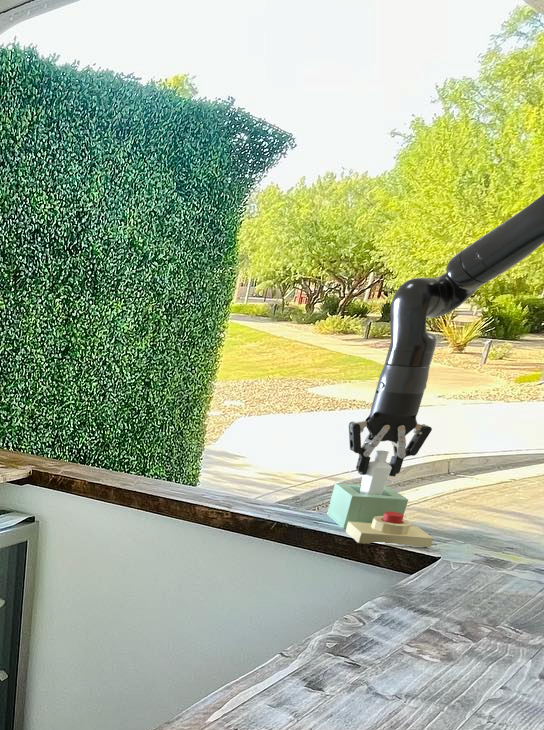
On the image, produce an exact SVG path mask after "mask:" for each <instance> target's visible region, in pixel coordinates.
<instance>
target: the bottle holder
mask: <svg viewBox="0 0 544 730" xmlns="http://www.w3.org/2000/svg"><path fill="white" fill-rule="evenodd" d="M360 488H361V483H360V484H357V483H343V482H342V483H341V482H335V483H334V486H333V491H332V493H331V497H330V502H329V505H328V509H327V513H326V515H327V516H328V517H329V518H330V519H331V520H332V521H334V522H335V523H336V524H337V525H338V526H339V527H340V528H341V529H343V530H346V528H347V525H348V522H363V523H372V521H373V518H374V517H376V516H384V514H385V512H397V513H401V514H403V515H404V516H405V512H406V508H407V505H408V503H409V499H408V498H407V497H405V496H403V495H402V494H400V493H399V492H398V491H396V490H394V489H393V488H391V487H390V486H388V485H385V488H384V490H383V493H382V495H367V494H360Z"/></svg>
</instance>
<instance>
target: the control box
mask: <svg viewBox="0 0 544 730" xmlns="http://www.w3.org/2000/svg"><path fill="white" fill-rule="evenodd" d="M383 517H384V516H376V517H374V518H373V521H372V523H363V522H348V525H347V528H346V529H345V533H346V534H347V535H349V536H350V537H351V538H352V539H353V540H354V541H355V542H356V543H357V544H363V545H371V544H370V543H372V542H385V543H397V544H405V545H414V546H423V547H430V548H431V547H432V544H433V541H434V537H433V536H431V535H430V534H428V533H427V532H425V531H424V530H423V529H422V528H421V527H419V526H417V525H412V522H410V521H409V520H407V519H404V518H403V520H402V523H401V524H394V523H389V522H385V521H383Z"/></svg>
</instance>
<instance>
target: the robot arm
mask: <svg viewBox="0 0 544 730" xmlns="http://www.w3.org/2000/svg"><path fill="white" fill-rule="evenodd" d="M543 244H544V193H543V194H542V195H540V196H539V197H537V199H535V200H534V201H533V202H531V203H530V204H529V205H527V206H526V207H524V208H523V209H522V210H520V211H519V212H517V213H516V214H514V215H513V216H511V217H510V218H508V219H507V220H505V221H503V222H502V223H501V224H499V225H498V226H496V227H495V228H493V229H491V230H489V232H487V233H485V234H484V235H482V236H481V237H479V238H478V239H476V240H475V241H474V242H472V243H471V244H469V245H467V246H466V247H465V248H464V249H462V250H461V251H459V252H458V253H456V254H455V255H454V256H453V257H451V259H449V261H448V263H447V265H446V269H445V273H443V274H442V275H440V276H438V277H415V278H410V279H409V280H406V281H405V282H403V283H402V284H401V285H400V286H399V287H398V289H397V290H396V291H395V293H394V295H393V297H392V300H391V303H390V309H389V310H390V314H389V316H390V326H389V328H390V330H389V331H390V344H389V347H388V350H387V355H386V358H385V362H384V365H383V368H382V370H381V372H380V374H379V378H378V382H377V385H376V389H375V392H374V396H373V399H372V404H371V408H370V412H369V415H368V416H367V417H366V418H365V420H361V421H357V422H356V421H350V422H349V423H348V439H349V450H350V451H352V452H354V453H355V454H358V459H357V463H356V466H355V470H356V471H357V474H359V475H360V476H363V475H366V472H367V469H368V465H369V462H371V454H372V453H373V451H374V450H375V448H376V447H378V446H379V444H380V443H381V442H387V441H388V442H391V445H392V449H393V451H392V452H393V455H392V456H391V457H390V462H389V464H390V465H391V467H392V468H391V471H390V474H389V477H396V475H399V474H400V473H401V470H402V465H403V463H404V459H405V458H407V457H410V456H412V457H415V456H416V455H418V453H419V451H420V450H421V449H422V446H423V445H424V443H425V442H426V440H427V439H428V437H429V435H430V434H431V433H432V430H433V428H432V427H431V426H429V425H427V424H424V423H423V424H420V423H418V421H417V416H418V414H419V410H420V406H421V403H422V400H423V397H424V393H425V390H426V388H427V383H428V380H429V373H430V367H431V363H432V360H433V357H434V354H435V350H436V346H437V336H436V335H435V334H434V333H431V332H429V331H427V319H433V318H434V319H435V318H440V317H443V316H445V315H447V314H449V313H451V312H452V311H454V310H456V309H458V308H459V307H460V306H461V305H463V304H464V303H465V302H466V301H467V300H468V299H469V298H471V296H473V295H474V294H475V293H476V292H477V291H478V290H479V289H480V288H481V287H482V286H484V285H486V284H488V283H489V282H490V281H492V280H494V279H495V278H497V277H499V276H500V275H502V274H503V273H505V272H506V271H509V270H510V269H511V268H513V267H514V266H516V265H517V264H519V263H521V262H522V261H523V260H524V259H526V258H527V257H529V256H530V255H531V254H532V253H534V252H535V251H536V250H538V249H539V248H540V247H541V246H542V245H543ZM365 428H367V431H368V434H367V436H366V437H365V439H364V443H363V444H362V437H361V434H362V433H363V432H364V429H365ZM412 431H413V436H412V437H411V438H410V441H409V442H408V444H407V439H406V436H407V435H408V434H410V432H412Z"/></svg>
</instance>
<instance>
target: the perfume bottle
mask: <svg viewBox="0 0 544 730" xmlns="http://www.w3.org/2000/svg"><path fill="white" fill-rule="evenodd" d="M375 452H376V454H375V457H374V460H372V461H369V465H368V469H367V472H366V475H362V478H361V483H360V485H361V488H360V494H367V495H382V493H383V490H384V488H385V486H387V485H386V484H387V482H388V479H389V477H390V476H389V474H390V471H391V468H392V467H391V465H390V462H389V463H388V462H387V458H388V454H390V452H389V451H387V450H382V449H381V450H375Z"/></svg>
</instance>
